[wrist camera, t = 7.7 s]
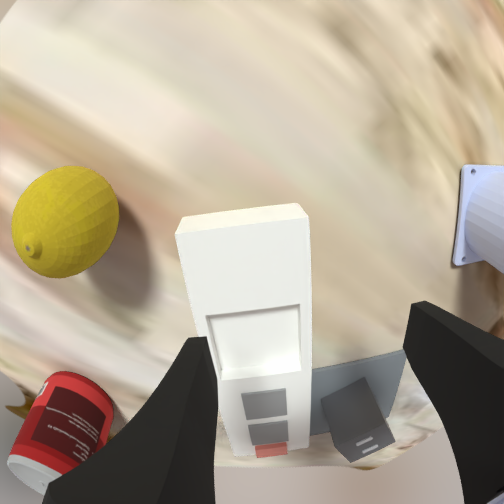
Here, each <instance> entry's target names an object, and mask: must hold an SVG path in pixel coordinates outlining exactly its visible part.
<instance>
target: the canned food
mask: <svg viewBox="0 0 504 504" xmlns="http://www.w3.org/2000/svg"><path fill="white" fill-rule="evenodd" d="M112 420H113V405H112V402H111V400H110V398H109V397H108V395H107V394H106V393H105V392H104V391H103V390H102V389H101V388H100V387H99V386H98V385H97V384H95V383H94V382H92V381H91V380H89V379H87V378H86V377H83V376H81V375H79V374H76V373H72V372H67V371H60V372H56V373H54V374H52V375H51V376H50V377H49V378H47V380H46V381H45V383H44V385H43V386H42V388H41V390H40V392H39V394H38V396H37V398H36V400H35V401H34V403H33V405H32V407H31V409H30V411H29V413H28V415H27V417H26V419H25V421H24V424H23V425H22V428H21V430H20V432H19V434H18V436H17V438H16V441H15V443H14V445H13V447H12V450H11V452H10V455H9V458H8V461H7V465H8V467H9V469H10V470H11V471H12V472H13V473H14V474H15V475H16V476H17V477H18V478H19V479H20V480H21V481H22V482H24V483H25V484H27V485H28V486H29V487H31V488H32V489H34V490H36V491H37V492H39V493H41V494H43V495H45V492H46V489H47V486H48V484H49V482H51V481H53V480H55V479H57V478H58V477H60V476H62V475H63V474H65V473H67V472H68V471H70V470H72V469H73V468H75V467H77V466H78V465H80V464H81V463H82V462H84V461H85V460H87V459H88V458H89V457H91V456H92V455H93V454H95V453H96V452H97V451H98V450H100V449H101V448H102V447H103V446H105V445H106V442H107V438H108V434H109V431H110V427H111V424H112Z"/></svg>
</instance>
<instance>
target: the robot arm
mask: <svg viewBox="0 0 504 504" xmlns="http://www.w3.org/2000/svg"><path fill="white" fill-rule="evenodd" d="M471 170H472V174H471ZM462 258H463V259H462ZM483 260H485V261H487V262H488V263H489V264H491V265H492V266H493V267H495V268H496V269H498V270H499V271H500V272H502V273H503V274H504V166H499V165H464V166H463V167H462V171H461V190H460V204H459V215H458V224H457V233H456V240H455V247H454V254H453V263H454V264H455V265H456V266H460V265H464V264H469V263H474V262H479V261H483ZM403 349H404V351H405V354H406V356H407V359H408V361H409V363H410V366H411V368H412V370H413V372H414V373H415V375H416V377H417V378H418V380H419V382H420V383H421V385H422V387H423V388H424V390H425V392H426V393H427V395H428V397H429V399H430V400H431V402H432V404H433V405H434V407H435V409H436V411H437V412H438V414H439V416H440V418H441V420H442V423H443V425H444V428H445V430H446V433H447V435H448V438H449V440H450V443H451V446H452V449H453V452H454V455H455V459H456V462H457V467H458V470H459V475H460V479H461V484H462V490H463V496H464V503H465V504H504V340H503V339H500V338H498V337H496V336H494V335H492V334H489V333H487V332H485V331H483V330H481V329H479V328H477V327H475V326H473V325H471V324H470V323H468V322H466V321H464V320H462V319H460V318H458V317H456V316H455V315H453V314H451V313H449V312H447V311H445V310H443V309H442V308H440V307H438V306H436V305H434V304H431V303H429V302H427V301H422V302H417V303H413V304H411V309H410V314H409V320H408V325H407V330H406V335H405V339H404V344H403ZM217 416H218V382H217V376H216V372H215V368H214V364H213V360H212V356H211V352H210V348H209V344H208V340H207V336H203V337H192V338H188V339H187V340H186V342H185V343H184V345H183V347H182V349H181V350H180V352H179V354H178V356H177V357H176V359H175V361H174V362H173V364H172V365H171V367H170V369H169V370H168V372H167V373H166V375H165V376H164V378H163V379H162V381H161V382H160V384H159V385H158V387H157V388H156V389H155V391H154V392H153V393H152V395H151V396H150V397H149V399H148V400H147V402H146V403H145V404H144V405H143V407H142V408H141V409H140V410H139V411H138V413H137V414H136V415H135V416H134V417H133V418H132V419H131V420H130V421H129V423H128V424H127V425H126V426H125V427H124V428H123V429H122V430H121V431H120V432H119V433H118V434H117V435H116V436H115V437H113V438H112V439H111V440H110V441H109V442H108V443H107V444H106V445H105V446H103V447H102V448H101V449H100V450H98V451H97V452H96V453H95V454H93V455H92V456H91V457H89V458H88V459H87V460H85V461H84V462H82V463H81V464H80V465H78V466H77V467H75V468H73V469H72V470H70V471H68V472H67V473H65V474H63V475H62V476H60V477H58V478H57V479H55V480H53V481H51V482H49V484H48V486H47V489H46V492H45V495H44V499H43V502H42V504H215V491H214V490H215V489H214V452H215V440H216V428H217Z"/></svg>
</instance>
